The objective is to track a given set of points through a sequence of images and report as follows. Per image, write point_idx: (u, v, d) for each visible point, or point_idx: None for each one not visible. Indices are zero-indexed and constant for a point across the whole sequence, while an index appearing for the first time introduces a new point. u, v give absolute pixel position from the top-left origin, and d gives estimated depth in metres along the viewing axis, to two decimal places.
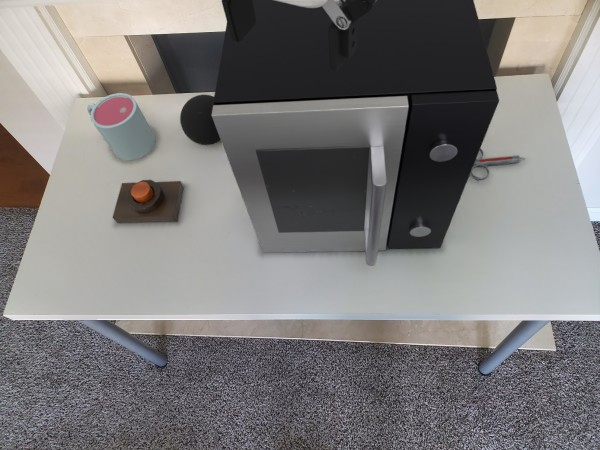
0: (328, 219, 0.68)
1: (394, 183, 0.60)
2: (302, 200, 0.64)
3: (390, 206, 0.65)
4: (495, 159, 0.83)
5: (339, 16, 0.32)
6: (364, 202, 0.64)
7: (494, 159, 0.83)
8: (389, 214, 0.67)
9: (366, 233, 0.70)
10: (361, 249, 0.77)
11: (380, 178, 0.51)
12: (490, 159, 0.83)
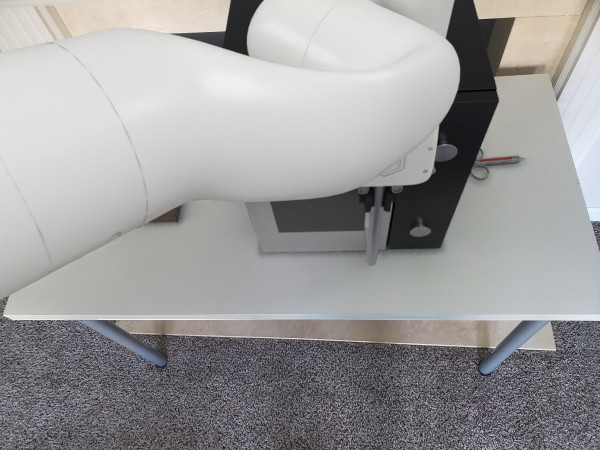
0: (328, 219, 0.68)
1: None
2: (302, 200, 0.64)
3: None
4: (495, 159, 0.83)
5: (398, 187, 0.51)
6: None
7: (494, 159, 0.83)
8: (389, 214, 0.67)
9: (366, 233, 0.70)
10: (361, 249, 0.77)
11: None
12: (490, 159, 0.83)
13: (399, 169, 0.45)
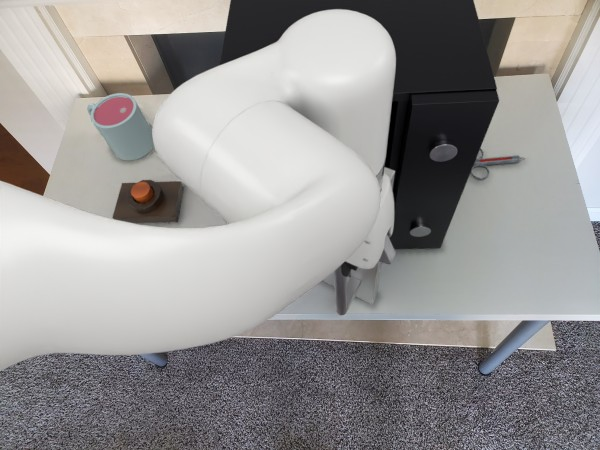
0: None
1: None
2: None
3: (375, 267, 0.60)
4: (495, 159, 0.83)
5: None
6: None
7: (494, 159, 0.83)
8: (374, 274, 0.62)
9: (350, 281, 0.67)
10: None
11: None
12: (490, 159, 0.83)
13: None
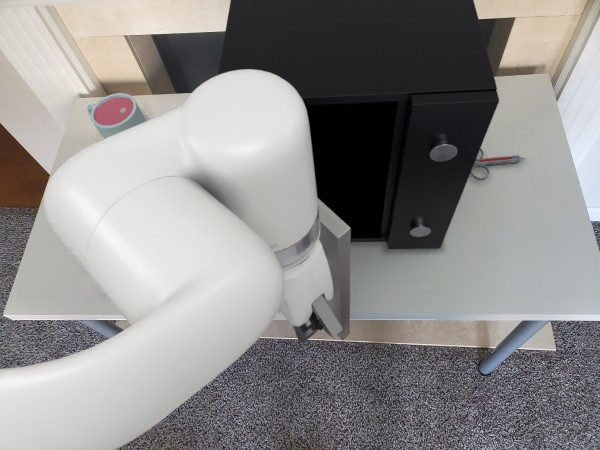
0: None
1: (339, 293, 0.53)
2: None
3: (339, 309, 0.58)
4: (495, 159, 0.83)
5: None
6: None
7: (494, 159, 0.83)
8: (340, 315, 0.60)
9: None
10: None
11: None
12: (490, 159, 0.83)
13: None
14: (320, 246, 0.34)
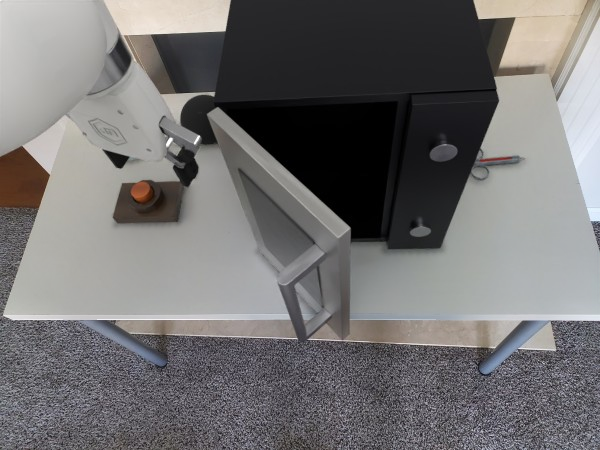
0: None
1: (339, 293, 0.53)
2: (275, 238, 0.61)
3: (339, 309, 0.58)
4: (495, 159, 0.83)
5: (176, 162, 0.50)
6: (318, 285, 0.58)
7: (494, 159, 0.83)
8: (340, 315, 0.60)
9: (321, 311, 0.65)
10: None
11: (286, 277, 0.46)
12: (490, 159, 0.83)
13: (124, 142, 0.46)
14: (137, 64, 0.42)
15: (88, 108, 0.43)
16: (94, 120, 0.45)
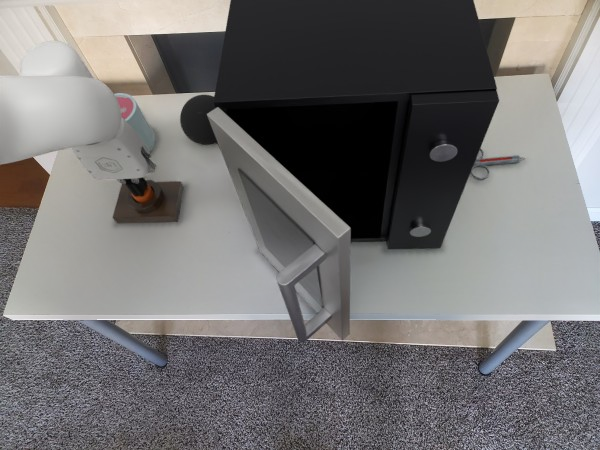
0: None
1: (339, 293, 0.53)
2: (275, 238, 0.61)
3: (339, 309, 0.58)
4: (495, 159, 0.83)
5: (135, 179, 0.78)
6: (318, 285, 0.58)
7: (494, 159, 0.83)
8: (340, 315, 0.60)
9: (321, 311, 0.65)
10: None
11: (286, 277, 0.46)
12: (490, 159, 0.83)
13: (120, 169, 0.72)
14: (121, 118, 0.69)
15: (96, 152, 0.69)
16: (99, 159, 0.70)
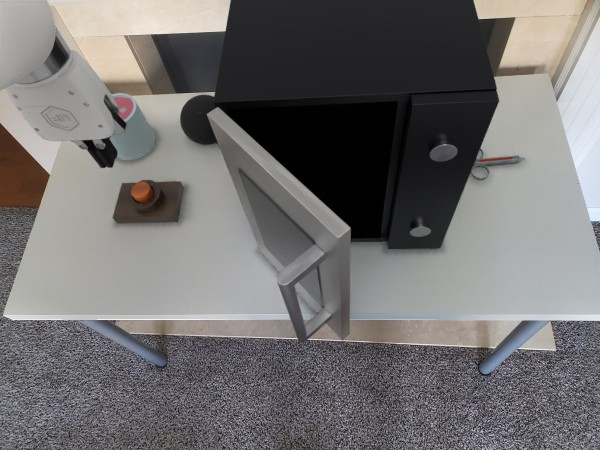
0: None
1: (339, 293, 0.53)
2: (275, 238, 0.61)
3: (339, 309, 0.58)
4: (495, 159, 0.83)
5: (99, 143, 0.59)
6: (318, 285, 0.58)
7: (494, 159, 0.83)
8: (340, 315, 0.60)
9: (321, 311, 0.65)
10: None
11: (286, 277, 0.46)
12: (490, 159, 0.83)
13: (76, 124, 0.54)
14: (75, 51, 0.50)
15: (40, 98, 0.50)
16: (46, 109, 0.52)
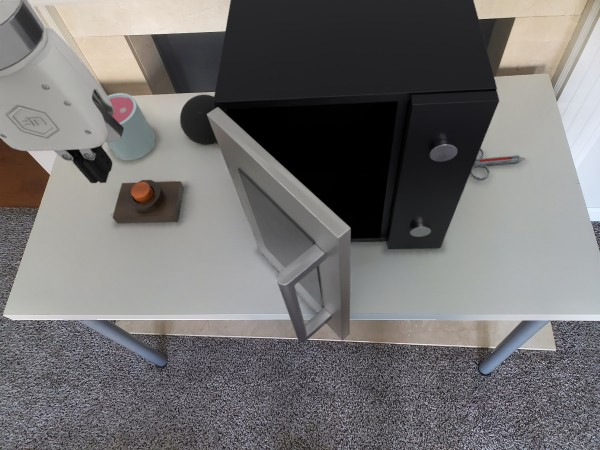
0: None
1: (339, 293, 0.53)
2: (275, 238, 0.61)
3: (339, 309, 0.58)
4: (495, 159, 0.83)
5: (88, 153, 0.45)
6: (318, 285, 0.58)
7: (494, 159, 0.83)
8: (340, 315, 0.60)
9: (321, 311, 0.65)
10: None
11: (286, 277, 0.46)
12: (490, 159, 0.83)
13: (56, 129, 0.40)
14: (51, 29, 0.36)
15: (3, 94, 0.36)
16: (13, 110, 0.38)
